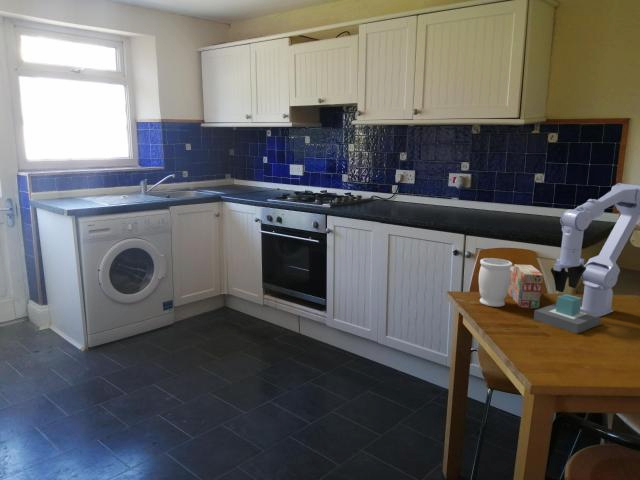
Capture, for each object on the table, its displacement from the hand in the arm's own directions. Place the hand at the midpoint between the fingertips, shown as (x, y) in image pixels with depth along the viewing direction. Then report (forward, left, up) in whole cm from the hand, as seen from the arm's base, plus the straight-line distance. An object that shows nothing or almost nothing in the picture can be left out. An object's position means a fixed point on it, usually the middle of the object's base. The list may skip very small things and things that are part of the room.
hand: (566, 289), depth 161 cm
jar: (+8, -21, -10) cm, 24 cm away
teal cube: (+3, +3, -6) cm, 8 cm away
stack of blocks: (-5, -19, -10) cm, 22 cm away
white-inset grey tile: (+3, +3, -9) cm, 10 cm away
